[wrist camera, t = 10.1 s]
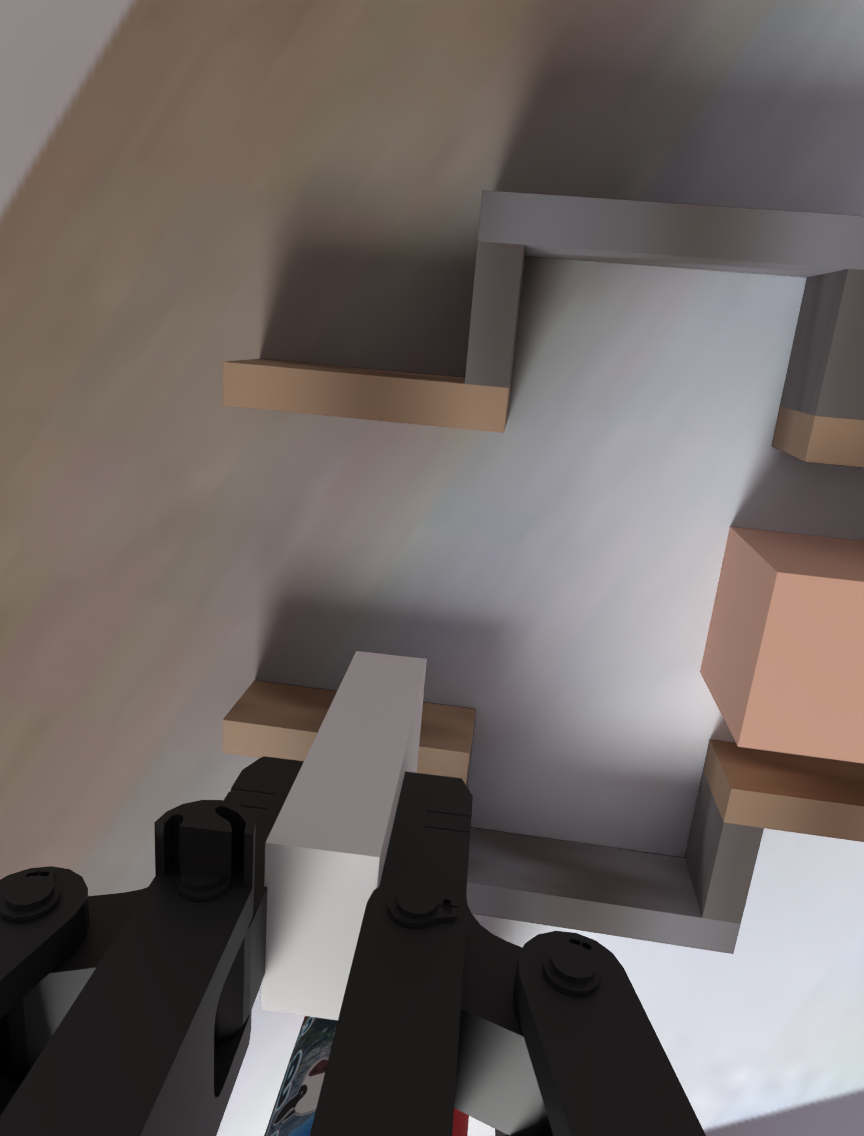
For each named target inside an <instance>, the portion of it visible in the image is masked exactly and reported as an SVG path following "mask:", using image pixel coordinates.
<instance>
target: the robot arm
mask: <svg viewBox="0 0 864 1136" xmlns="http://www.w3.org/2000/svg"><path fill="white" fill-rule="evenodd" d="M426 663H427V659H423V658H414V657H405V656H397V655H388V654H379V653H370V652H361V651H356V653H355V655H354V657H353V659H352V661H351V663H350V665H349V668H348V670H347V672H346V674H345V676H344V678H343V680H342V682H341V684H340V687H339V689H338V691H337V693H336V695H335V697H334V699H333V701H332V703H331V706H330V708H329V710H328V712H327V714H326V716H325V718H324V720H323V722H322V725H321V727H320V729H319V731H318V733H317V735H316V737H315V739H314V741H313V744H312V746H311V748H310V750H309V752H308V754H307V756H306V758H305V760H304V761H298V760H290V759H282V758H274V757H266V756H263V757H261V758H260V759H258V760H257V761H255V762H254V763H252V764H251V765H249V766H248V767H246V768H245V769H243V770H242V771H241V773H240V775H239V776H238V778H237V780H236V781H235V783H234V784H233V786H232V788H231V792H229V793H228V794H227V796H226V798H225V799H224V801H222V800H200V801H196V802H191V803H186V804H182V805H180V806H178V807H176V808H174V809H171V810H169V811H167V812H166V813H165V814H163V815H162V816H161V817H160V818H159V819H158V820H157V821H156V822H155V867H156V876H155V878H154V879H153V881H152V882H151V884H150V885H149V887H147V888H144V889H141V890H137V891H131V892H126V893H117V894H107V895H98V896H88V888H87V886H86V884H85V882H84V880H83V878H82V877H81V876H80V875H78V874H76V873H75V872H73V871H71V870H70V869H64V868H58V867H52V866H51V867H40V868H30V869H27V870H24V871H20V872H17V873H14V874H11V875H8V876H6V877H4V878H3V879H1V880H0V1136H216V1135H217V1132H218V1129H219V1126H220V1123H221V1121H222V1118H223V1115H224V1112H225V1109H226V1107H227V1104H228V1101H229V1098H230V1095H231V1093H232V1090H233V1087H234V1084H235V1082H236V1079H237V1076H238V1073H239V1070H240V1068H241V1065H242V1062H243V1059H244V1056H245V1054H246V1051H247V1048H248V1045H249V1040H250V1032H251V1009H252V1007H253V1004H254V1001H255V999H256V996H257V993H258V991H259V988H260V985H261V983H262V990H261V1010H268V1011H275V1012H282V1013H289V1014H296V1015H303V1016H310V1017H317V1018H324V1019H331V1020H338V1022H337V1026H336V1030H335V1034H334V1038H333V1042H332V1046H331V1050H330V1054H329V1058H328V1062H327V1067H326V1071H325V1075H324V1079H323V1083H322V1087H321V1091H320V1095H319V1099H318V1103H317V1107H316V1111H315V1115H314V1119H313V1123H312V1128H311V1132H310V1136H452V1132H453V1117H454V1108H455V1109H457V1110H459V1111H461V1112H463V1113H465V1114H467V1115H469V1116H471V1117H473V1118H475V1119H477V1120H479V1121H481V1122H483V1123H485V1124H487V1125H489V1126H491V1127H493V1128H495V1136H706V1135H705V1133H704V1131H703V1129H702V1127H701V1125H700V1123H699V1121H698V1119H697V1116H696V1114H695V1112H694V1110H693V1108H692V1106H691V1104H690V1102H689V1100H688V1098H687V1096H686V1094H685V1092H684V1090H683V1088H682V1086H681V1084H680V1082H679V1080H678V1078H677V1076H676V1074H675V1072H674V1070H673V1068H672V1066H671V1063H670V1061H669V1059H668V1057H667V1055H666V1053H665V1051H664V1049H663V1047H662V1045H661V1043H660V1041H659V1039H658V1037H657V1035H656V1033H655V1031H654V1029H653V1027H652V1025H651V1023H650V1021H649V1019H648V1017H647V1015H646V1013H645V1010H644V1008H643V1006H642V1004H641V1002H640V1000H639V998H638V996H637V994H636V992H635V990H634V988H633V986H632V984H631V982H630V980H629V978H628V976H627V974H626V972H625V970H624V968H623V967H622V965H621V964H620V963H619V961H618V960H617V959H616V957H615V956H614V954H613V953H612V952H610V951H609V950H608V949H606V948H605V947H604V946H602V945H601V944H599V943H598V942H597V941H595V940H593V939H590V938H587V937H585V936H582V935H580V934H577V933H571V932H561V931H553V932H548V933H544V934H539V935H537V936H535V937H534V938H532V939H531V940H530V941H528V942H527V943H525V944H524V946H523V948H522V947H519V946H517V945H514V944H512V943H509V942H507V941H505V940H503V939H501V938H499V937H497V936H495V935H493V934H491V933H490V932H489V931H488V930H486V929H485V928H484V927H482V926H481V925H480V924H479V923H478V921H477V920H476V919H475V918H474V916H473V915H472V913H471V911H470V909H469V907H468V905H467V896H466V891H467V876H468V860H469V845H470V829H471V814H472V798H473V796H472V795H471V793H470V791H469V790H468V788H467V786H466V784H465V783H464V781H463V779H462V778H456V777H447V776H439V775H431V774H423V773H417V764H418V752H419V741H420V730H421V719H422V708H423V696H424V685H425V674H426Z"/></svg>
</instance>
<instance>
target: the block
mask: <svg viewBox="0 0 864 1136" xmlns="http://www.w3.org/2000/svg"><path fill="white" fill-rule="evenodd" d="M700 673H701V675H702V677H703V679H704V681H705V683H706V684H707V686H708V688H709V690H710V692H711V694H712V696H713V698H714V700H715V702H716V704H717V706H718V708H719V710H720V712H721V714H722V716H723V718H724V720H725V722H726V724H727V726H728V728H729V730H730V732H731V734H732V736H733V738H734V740H735V742H736V744H737V746H738V747H744V748H752V749H759V750H767V751H774V752H782V753H789V754H797V755H804V756H812V757H819V758H827V759H834V760H842V761H849V762H857V763H864V541H859V540H850V539H840V538H831V537H822V536H813V535H803V534H794V533H785V532H776V531H766V530H757V529H748V528H739V527H730V529H729V534H728V538H727V543H726V548H725V553H724V558H723V563H722V568H721V573H720V578H719V582H718V587H717V592H716V597H715V602H714V607H713V612H712V617H711V622H710V626H709V631H708V636H707V641H706V646H705V651H704V656H703V661H702V666H701V670H700Z"/></svg>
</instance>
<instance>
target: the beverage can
mask: <svg viewBox="0 0 864 1136" xmlns="http://www.w3.org/2000/svg"><path fill="white" fill-rule="evenodd" d="M337 1022H338V1020H331V1019H324V1018H317V1017H310V1016H305V1018H304V1021H303V1024H302V1026H301V1029H300V1032H299V1035H298V1038H297V1041H296V1044H295V1046H294V1049H293V1052H292V1055H291V1058H290V1061H289V1064H288V1067H287V1070H286V1073H285V1076H284V1079H283V1082H282V1085H281V1088H280V1091H279V1094H278V1096H277V1099H276V1102H275V1105H274V1108H273V1111H272V1114H271V1117H270V1120H269V1123H268V1126H267V1129H266V1132H265V1135H264V1136H310V1132H311V1128H312V1123H313V1119H314V1115H315V1111H316V1107H317V1103H318V1099H319V1095H320V1091H321V1087H322V1083H323V1079H324V1075H325V1071H326V1067H327V1062H328V1058H329V1054H330V1050H331V1046H332V1042H333V1038H334V1034H335V1030H336V1026H337ZM468 1119H469V1115H467V1114H465V1113H463V1112H461V1111H459V1110H457V1109H455V1108H454V1117H453V1132H452V1136H467V1132H468Z"/></svg>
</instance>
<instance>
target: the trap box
mask: <svg viewBox="0 0 864 1136" xmlns="http://www.w3.org/2000/svg"><path fill="white" fill-rule="evenodd" d="M525 256H530V257H543V258H557V259H570V260H583V261H596V262H610V263H623V264H636V265H649V266H663V267H676V268H689V269H702V270H716V271H729V272H742V273H755V274H769V275H782V276H795V277H807V280H806V285H805V290H804V294H803V299H802V304H801V308H800V313H799V318H798V323H797V327H796V332H795V337H794V342H793V346H792V351H791V356H790V361H789V365H788V370H787V375H786V380H785V384H784V389H783V394H782V399H781V403H780V408H779V413H778V418H777V422H776V427H775V432H774V437H773V441H772V447H774V448H776V449H778V450H781V451H783V452H785V453H787V454H789V455H792V456H794V457H796V458H798V459H800V460H802V461H805V462H814V463H824V464H834V465H845V466H855V467H864V216H853V215H839V214H824V213H809V212H795V211H780V210H765V209H750V208H736V207H721V206H706V205H692V204H677V203H662V202H647V201H633V200H618V199H603V198H589V197H574V196H559V195H545V194H530V193H515V192H500V191H486V190H482V199H481V210H480V221H479V232H478V243H477V254H476V265H475V276H474V287H473V298H472V309H471V320H470V331H469V342H468V353H467V364H466V375H465V377H454V376H443V375H432V374H421V373H410V372H399V371H388V370H377V369H366V368H355V367H344V366H332V365H321V364H310V363H299V362H288V361H277V360H266V359H251V360H240V361H228V362H223V405H224V406H234V407H245V408H255V409H265V410H276V411H286V412H296V413H307V414H317V415H327V416H338V417H348V418H358V419H369V420H379V421H389V422H400V423H410V424H420V425H431V426H441V427H452V428H462V429H472V430H483V431H493V432H503V433H504V431H505V427H506V423H507V417H508V408H509V399H510V390H511V380H512V371H513V362H514V353H515V344H516V334H517V325H518V316H519V307H520V298H521V288H522V279H523V270H524V261H525ZM336 693H337V691H332V690H324V689H316V688H309V687H301V686H293V685H286V684H278V683H270V682H263V681H255V680H254V682H253V683H252V684H251V685H250V687H249V688H248V689H247V690H246V692H245V693H244V694H243V695H242V697H241V698H240V699H239V700H238V702H237V703H236V704H235V705H234V707H233V708H232V709H231V710H230V711H229V713H228V714H227V715H226V716H225V718H224V719H223V753H229V754H236V755H244V756H251V757H258V758H261V757H263V756H266V757H274V758H282V759H290V760H298V761H304V760H305V758H306V756H307V754H308V752H309V750H310V748H311V746H312V744H313V741H314V739H315V737H316V735H317V733H318V731H319V729H320V727H321V725H322V722H323V720H324V718H325V716H326V714H327V712H328V710H329V708H330V706H331V703H332V701H333V699H334V697H335V695H336ZM475 712H476V709H470V708H463V707H455V706H447V705H440V704H432V703H424V702H423V708H422V719H421V730H420V741H419V752H418V764H417V773H423V774H431V775H439V776H447V777H456V778H462V779H463V781H464V783H465V784H466V786H468V777H469V767H470V758H471V749H472V740H473V731H474V721H475ZM764 828H767V829H774V830H782V831H789V832H796V833H803V834H810V835H817V836H825V837H832V838H839V839H846V840H853V841H860V842H864V763H857V762H849V761H842V760H834V759H827V758H819V757H812V756H804V755H797V754H789V753H782V752H774V751H767V750H759V749H752V748H744V747H738V746H737V744H736V743H732V742H724V741H716V740H709V745H708V750H707V754H706V759H705V764H704V769H703V773H702V778H701V783H700V788H699V792H698V797H697V802H696V807H695V811H694V816H693V821H692V826H691V830H690V835H689V840H688V845H687V849H686V854H685V858H680V857H673V856H666V855H659V854H652V853H645V852H638V851H631V850H624V849H617V848H610V847H603V846H596V845H589V844H583V843H576V842H569V841H562V840H555V839H548V838H541V837H534V836H527V835H520V834H513V833H506V832H499V831H492V830H485V829H478V828H472V827H471V829H470V845H469V860H468V876H467V891H466V896H467V905H468V907H469V909H470V911H471V913H472V914H478V915H484V916H491V917H497V918H504V919H510V920H517V921H523V922H530V923H536V924H543V925H549V926H556V927H562V928H569V929H575V930H582V931H588V932H594V933H601V934H607V935H614V936H620V937H627V938H633V939H640V940H646V941H653V942H659V943H666V944H672V945H679V946H685V947H692V948H698V949H704V950H711V951H717V952H724V953H730V954H733V953H734V949H735V944H736V940H737V936H738V932H739V928H740V924H741V920H742V916H743V912H744V907H745V903H746V899H747V895H748V891H749V887H750V883H751V879H752V875H753V870H754V866H755V862H756V858H757V854H758V850H759V846H760V842H761V838H762V833H763V829H764Z"/></svg>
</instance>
